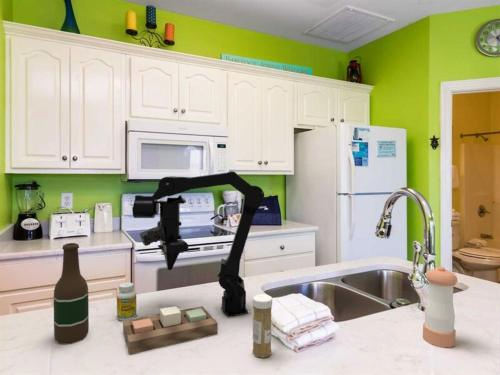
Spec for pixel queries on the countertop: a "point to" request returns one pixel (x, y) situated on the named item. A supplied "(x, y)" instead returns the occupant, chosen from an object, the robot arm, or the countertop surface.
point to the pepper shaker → (440, 308)
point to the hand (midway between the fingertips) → (169, 269)
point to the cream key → (170, 316)
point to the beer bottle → (71, 300)
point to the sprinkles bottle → (262, 325)
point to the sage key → (195, 315)
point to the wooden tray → (168, 332)
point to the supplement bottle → (126, 302)
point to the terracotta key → (142, 326)
